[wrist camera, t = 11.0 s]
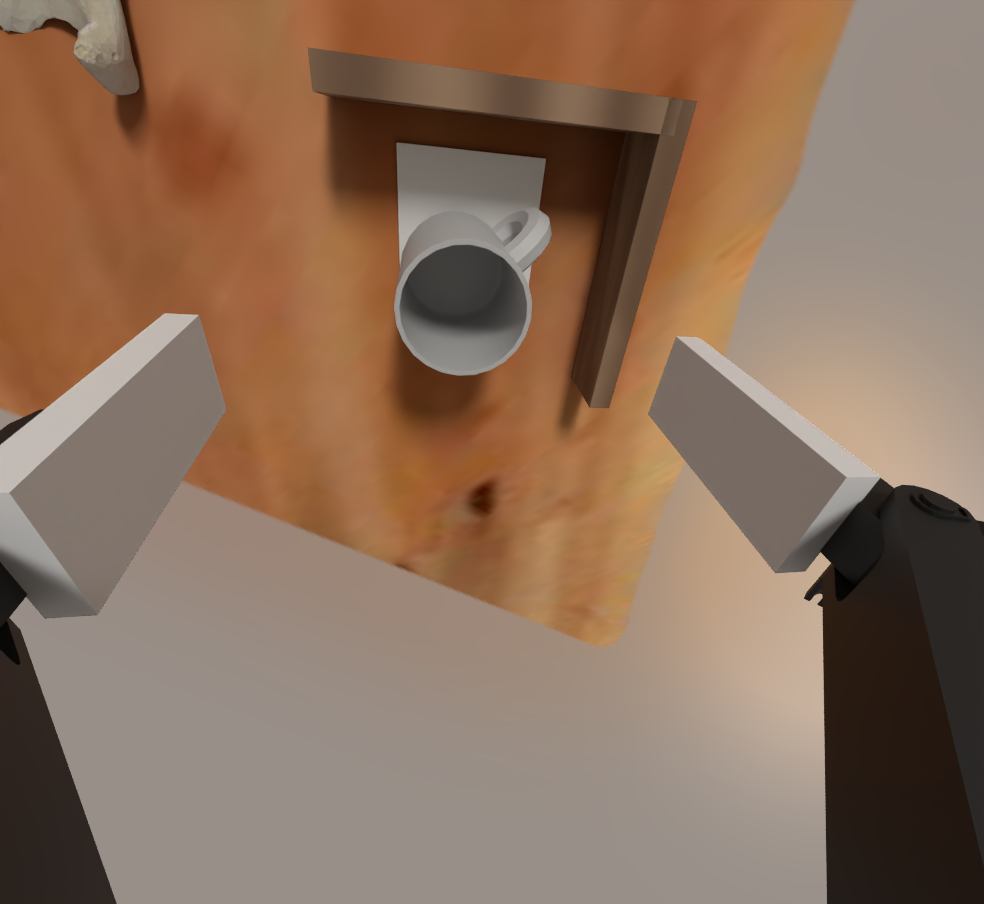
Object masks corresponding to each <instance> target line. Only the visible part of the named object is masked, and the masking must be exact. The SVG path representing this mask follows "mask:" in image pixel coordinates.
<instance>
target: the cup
mask: <svg viewBox="0 0 984 904" xmlns="http://www.w3.org/2000/svg"><path fill="white" fill-rule="evenodd" d="M551 235H552V234H551V227H550V221H549V217H548V216H547V215H546V214H544V213H543V212H541V211H540V210H538V209H537V208H531V207H529V208H526V209H523V210H520V211H517V212H514V213H512V214H511V215H509V216H507V217H506V218H504V219H503V220H502V221H500V222H499V223H498V224H497V225H495V226H494V227H493V228H491V227H490V226H489V225H487V224H486V223H485V222H483V221H482V220H480V219H478V218H477V217H475V216H473V215H470V214H466V213H463V212H443V213H440V214H437V215H434V216H431V217H429V218H428V219H426V220H425V221H423V222H422V223H421V224H419V225H418V226H417V228H416V229H415V230H414V231H413V232H412V234H411V235H410V236H409V238H408V240H407V243H406V245H405V247H404V250H403V252H402V258H401V264H400V271H399V277H398V283H397V290H396V297H395V304H394V310H395V318H396V325H397V328H398V330H399V333H400V335H401V337H402V340H403V342H404V343H405V344H406V346H407V347H408V348H409V350H410V351H411V352H412V354H413V355H414V356H415V357H417V358H418V359H419V360H420V361H422V362H423V363H424V364H425V365H427V366H429V367H431V368H433V369H435V370H437V371H440V372H442V373H447V374H452V375H457V376H461V375H476V374H479V373H482V372H486V371H489V370H491V369H493V368H495V367H497V366H498V365H500V364H502V363H503V362H505V361H506V360H507V359H508V358H509V357H510V356H511V355H512V354H513V353H514V352H515V351H516V350H517V349H518V347H519V346H520V344H521V343H522V341H523V339H524V338H525V336H526V333H527V330H528V327H529V324H530V321H531V311H532V299H531V294H530V290H529V285H528V283H527V281H526V279H525V277H524V275H523V272H524V271H525V270H526V269H527V268H528V267H530V266H531V265H532V264H533V263H534V262H535V261H536V260H537V259H538V258H539V256H540V255H541V253H542V252H543V250H544V249H545V248H546V246H547V245H548V243H549V241H550V238H551Z"/></svg>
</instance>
